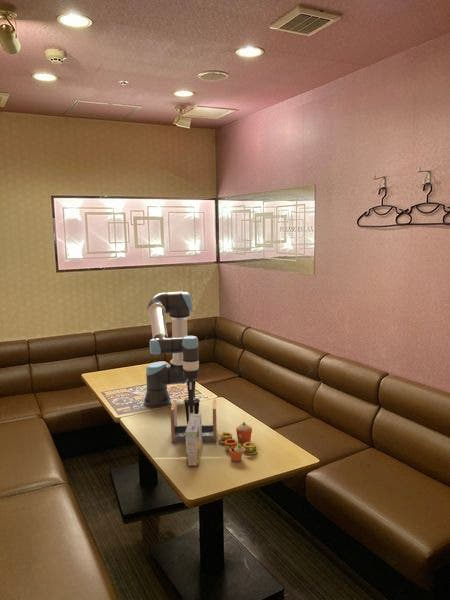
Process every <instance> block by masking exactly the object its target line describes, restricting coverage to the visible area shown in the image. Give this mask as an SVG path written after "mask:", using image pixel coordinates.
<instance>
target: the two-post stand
mask: <svg viewBox="0 0 450 600" xmlns="http://www.w3.org/2000/svg"><path fill="white" fill-rule="evenodd" d="M177 404H178V403H177V400H176V399H175V400H173V401H172V403H171V408H170V430H171V431H170V432H171V433H170V434H171V438H170V439H171V444H178V443H179V444H181V443H183V444H184V443H185V444H186V438H185V431H186V428H187V424H186V425H178V411H177V410H178V409H177V407H178V406H177ZM217 421H218V420H217V398H216V399H212V424H202V443H210V442H211V443H216V442H217V441H218V440H217V439H218V436H217V435H218V430H217V429H218V425H217V424H218V423H217Z"/></svg>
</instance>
